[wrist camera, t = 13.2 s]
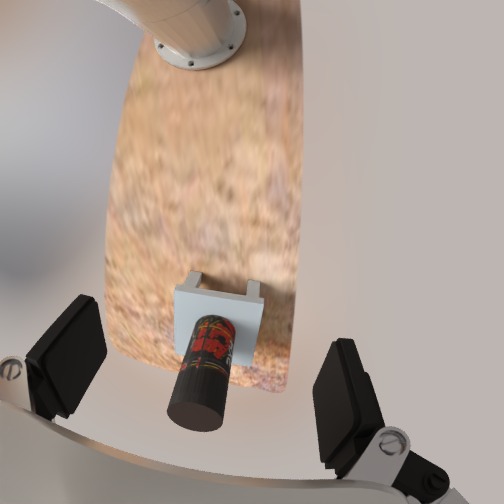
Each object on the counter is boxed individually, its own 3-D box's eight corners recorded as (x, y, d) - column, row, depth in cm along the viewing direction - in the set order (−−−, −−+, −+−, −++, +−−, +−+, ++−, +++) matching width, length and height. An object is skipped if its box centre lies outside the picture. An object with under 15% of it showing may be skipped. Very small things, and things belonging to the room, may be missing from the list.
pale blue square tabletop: (186, 266, 43) (174, 289, 37) (264, 278, 43) (264, 304, 37) (185, 327, 48) (175, 353, 42) (253, 338, 48) (251, 366, 42)
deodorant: (243, 337, 39) (234, 426, 26) (210, 351, 41) (191, 435, 27) (219, 308, 38) (198, 396, 24) (186, 324, 39) (155, 407, 25)
